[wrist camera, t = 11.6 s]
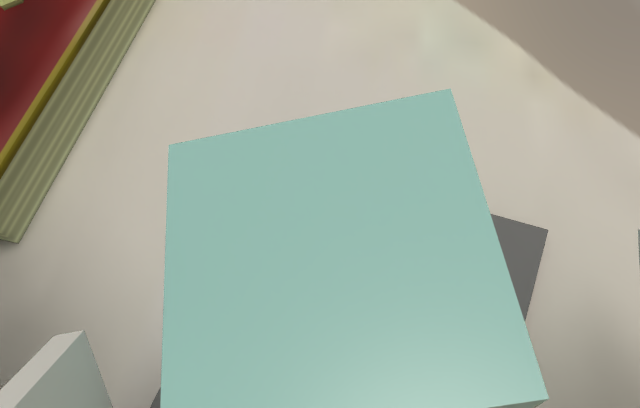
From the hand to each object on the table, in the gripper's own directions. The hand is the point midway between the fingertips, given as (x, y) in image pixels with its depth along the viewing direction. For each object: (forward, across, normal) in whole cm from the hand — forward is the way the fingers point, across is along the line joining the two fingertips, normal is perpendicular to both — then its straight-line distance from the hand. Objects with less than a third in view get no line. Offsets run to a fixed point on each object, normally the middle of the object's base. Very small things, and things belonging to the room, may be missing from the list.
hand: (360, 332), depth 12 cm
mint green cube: (+7, -1, -4) cm, 8 cm away
